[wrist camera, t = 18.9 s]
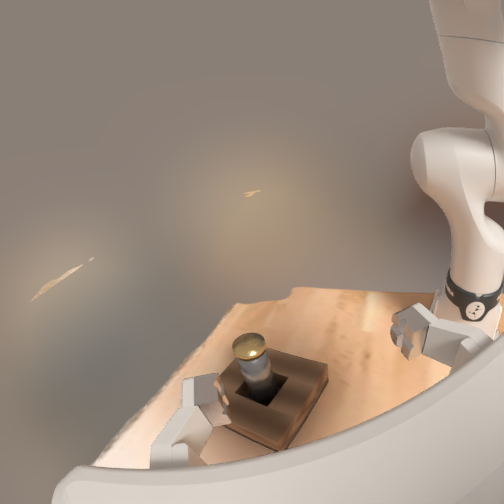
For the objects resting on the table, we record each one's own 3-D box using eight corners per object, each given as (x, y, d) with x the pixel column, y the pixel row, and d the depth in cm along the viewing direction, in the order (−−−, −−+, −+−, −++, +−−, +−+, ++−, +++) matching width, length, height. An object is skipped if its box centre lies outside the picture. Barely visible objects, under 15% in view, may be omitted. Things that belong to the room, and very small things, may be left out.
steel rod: (262, 385, 45) (245, 329, 40) (284, 393, 43) (271, 337, 37) (248, 403, 42) (225, 349, 36) (270, 412, 39) (252, 359, 34)
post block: (255, 359, 53) (249, 342, 51) (328, 381, 44) (327, 364, 42) (205, 416, 42) (195, 401, 40) (282, 454, 32) (277, 442, 30)
